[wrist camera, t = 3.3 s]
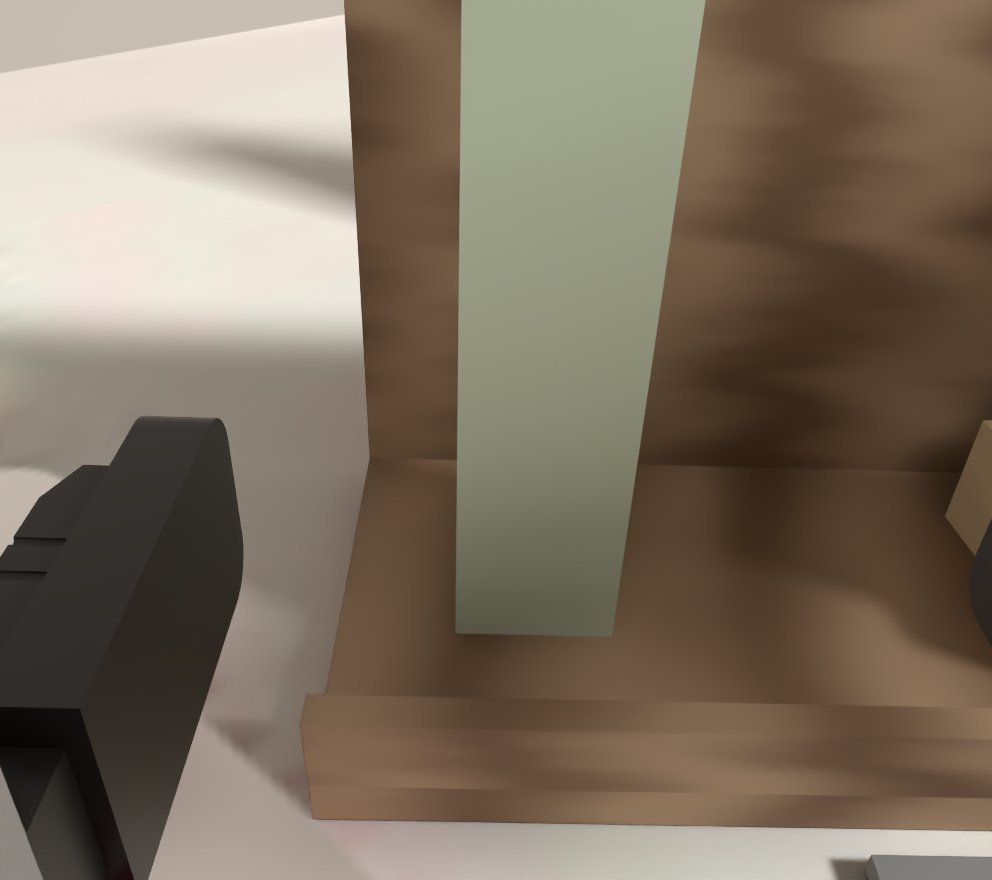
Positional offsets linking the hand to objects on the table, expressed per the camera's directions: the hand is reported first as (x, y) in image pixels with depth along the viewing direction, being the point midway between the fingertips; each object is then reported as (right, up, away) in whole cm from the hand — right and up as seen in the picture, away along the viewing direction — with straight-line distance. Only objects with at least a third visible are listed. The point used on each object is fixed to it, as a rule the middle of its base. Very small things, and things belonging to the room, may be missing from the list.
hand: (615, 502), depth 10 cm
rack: (+7, -4, +17) cm, 18 cm away
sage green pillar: (0, -3, +16) cm, 16 cm away
